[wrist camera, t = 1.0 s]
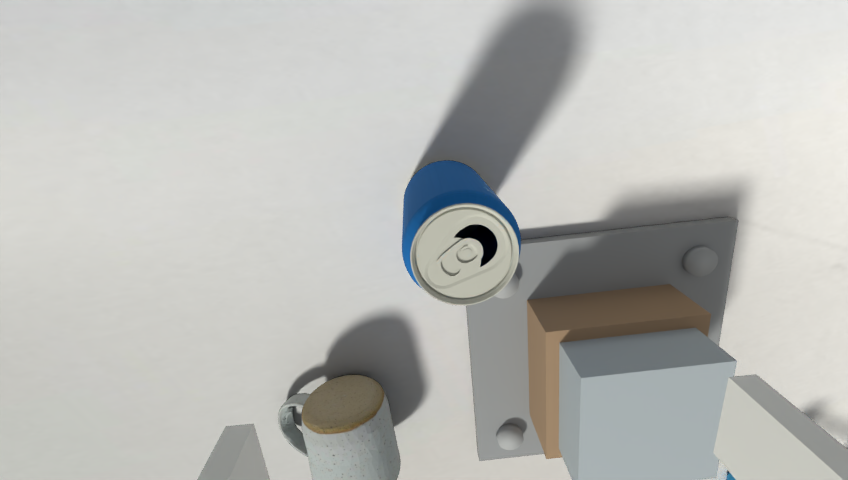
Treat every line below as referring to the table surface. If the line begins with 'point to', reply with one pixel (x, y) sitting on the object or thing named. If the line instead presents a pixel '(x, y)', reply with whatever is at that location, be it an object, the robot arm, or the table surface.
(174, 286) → the table surface
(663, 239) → the tower base
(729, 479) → the molecular structure
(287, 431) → the ceramic mug
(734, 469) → the robot arm
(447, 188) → the beverage can
